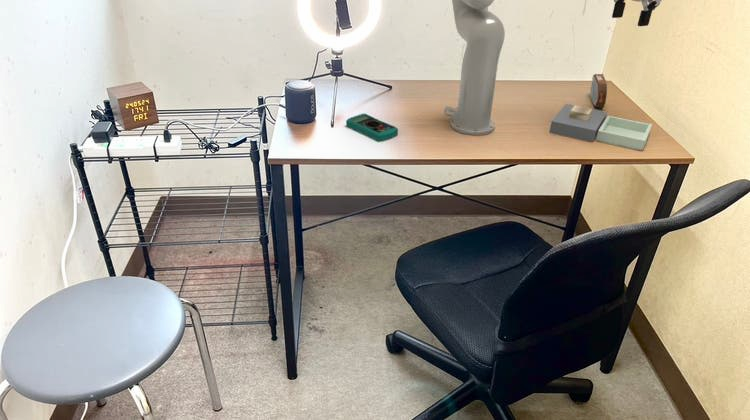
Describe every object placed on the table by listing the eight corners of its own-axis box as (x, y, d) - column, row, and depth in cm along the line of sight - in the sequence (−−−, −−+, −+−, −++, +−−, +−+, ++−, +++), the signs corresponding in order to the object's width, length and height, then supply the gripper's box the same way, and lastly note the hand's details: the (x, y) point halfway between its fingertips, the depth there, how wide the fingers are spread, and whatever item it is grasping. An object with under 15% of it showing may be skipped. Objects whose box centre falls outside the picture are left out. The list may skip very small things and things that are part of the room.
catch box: (595, 140, 152) (598, 130, 151) (605, 125, 162) (607, 115, 160) (642, 151, 147) (645, 140, 146) (649, 134, 157) (652, 124, 155)
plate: (549, 132, 157) (551, 121, 155) (563, 114, 168) (566, 103, 166) (592, 142, 151) (595, 130, 150) (604, 123, 163) (607, 111, 161)
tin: (603, 111, 171) (610, 85, 167) (593, 111, 172) (599, 84, 167) (597, 95, 184) (603, 70, 179) (587, 94, 184) (593, 69, 180)
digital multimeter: (380, 144, 149) (380, 134, 148) (345, 127, 158) (345, 117, 157) (399, 137, 153) (400, 127, 152) (364, 121, 163) (364, 111, 161)
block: (569, 117, 157) (570, 110, 156) (573, 111, 161) (574, 105, 160) (587, 121, 155) (588, 114, 154) (591, 115, 159) (592, 108, 158)
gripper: (611, -52, 147) (596, 15, 156) (661, -43, 133) (642, 30, 142) (633, -52, 149) (618, 13, 158) (685, -44, 136) (664, 28, 145)
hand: (629, 21), depth 150 cm, fingers open, 9 cm apart
